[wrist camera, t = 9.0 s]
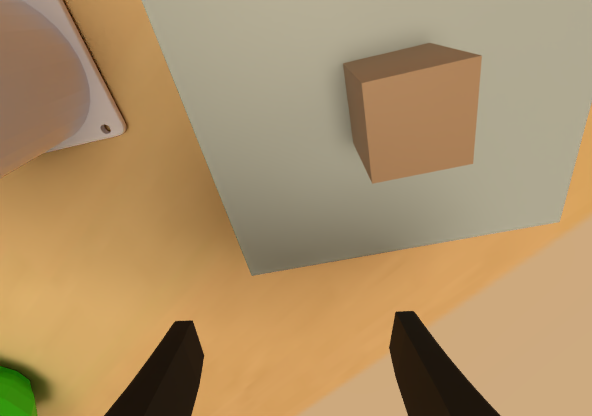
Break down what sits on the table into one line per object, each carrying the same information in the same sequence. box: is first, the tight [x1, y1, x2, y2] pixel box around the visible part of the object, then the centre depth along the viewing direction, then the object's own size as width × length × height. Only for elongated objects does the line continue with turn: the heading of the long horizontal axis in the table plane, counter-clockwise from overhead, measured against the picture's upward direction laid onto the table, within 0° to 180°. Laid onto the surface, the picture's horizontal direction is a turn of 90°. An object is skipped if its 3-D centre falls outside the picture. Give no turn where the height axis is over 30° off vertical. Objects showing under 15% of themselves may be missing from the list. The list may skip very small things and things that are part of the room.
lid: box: [142, 0, 592, 276], centre depth 11 cm, size 15×15×4 cm
